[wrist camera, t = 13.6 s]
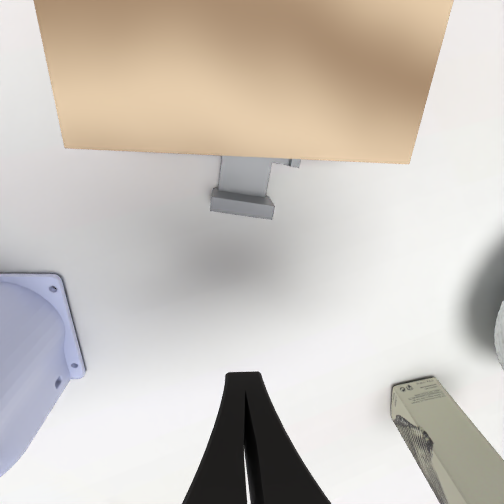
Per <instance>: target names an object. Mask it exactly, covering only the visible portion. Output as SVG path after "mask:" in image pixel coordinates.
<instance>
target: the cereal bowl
mask: <svg viewBox="0 0 504 504" xmlns="http://www.w3.org/2000/svg"><path fill="white" fill-rule="evenodd" d="M494 338H495V342H494V343H495V347H496V354H497V356H498V360H499V362H500V364H501V365H502V369H503V370H504V301H503V302H502V305H501V307H500V310H499V312H498V317H497V318H496V325H495V334H494Z"/></svg>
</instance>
